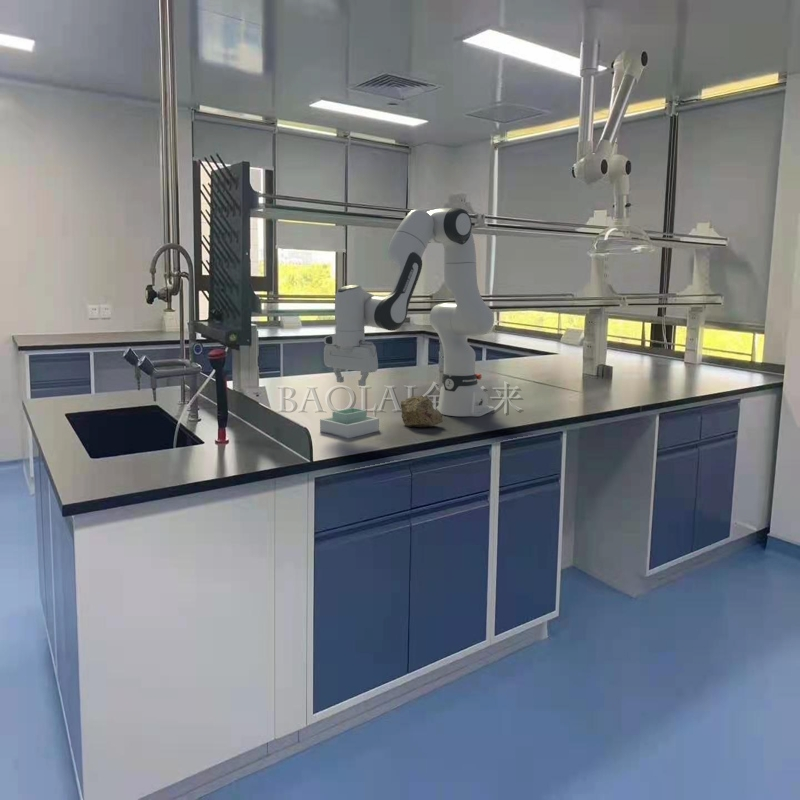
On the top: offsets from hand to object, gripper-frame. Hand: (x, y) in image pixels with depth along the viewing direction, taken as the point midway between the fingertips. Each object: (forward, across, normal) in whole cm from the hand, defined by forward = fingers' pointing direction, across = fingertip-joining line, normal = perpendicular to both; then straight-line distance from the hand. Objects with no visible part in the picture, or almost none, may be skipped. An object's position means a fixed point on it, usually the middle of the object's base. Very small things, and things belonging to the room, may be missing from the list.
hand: (351, 383), depth 205 cm
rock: (+16, -10, -21) cm, 28 cm away
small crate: (+14, 0, +1) cm, 15 cm away
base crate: (+15, 0, +1) cm, 15 cm away
